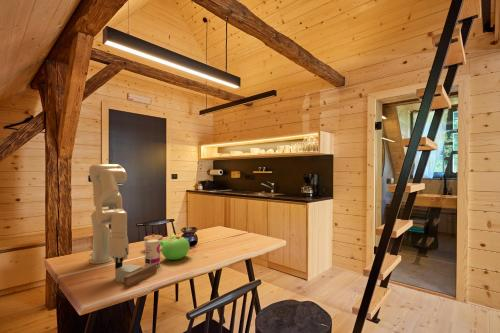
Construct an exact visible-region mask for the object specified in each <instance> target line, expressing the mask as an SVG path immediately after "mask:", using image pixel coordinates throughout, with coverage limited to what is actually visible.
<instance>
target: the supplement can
mask: <svg viewBox="0 0 500 333" xmlns="http://www.w3.org/2000/svg"><path fill="white" fill-rule="evenodd" d="M144 248H145V249H144V251H145V252H144V253H145V254H144V257H145V258H144V260H145V261H144V263H145V265H144V267H145V266H147V265H150V264H152V263H156V268H158V267H159V266H160V265H161V247H160V241H159V240H158V239H151V240H147V242H146V244H145V246H144Z"/></svg>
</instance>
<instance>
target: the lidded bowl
mask: <svg viewBox="0 0 500 333" xmlns="http://www.w3.org/2000/svg"><path fill="white" fill-rule="evenodd" d="M151 239H158V240H159V241H164V240H163V239H164V237H163V235H160V234H154V233H153V234H150V235H147V236H144V237H143V245H144V247H145V244H146V242H147V240H151ZM160 248H162V246H161V245H160Z"/></svg>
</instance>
